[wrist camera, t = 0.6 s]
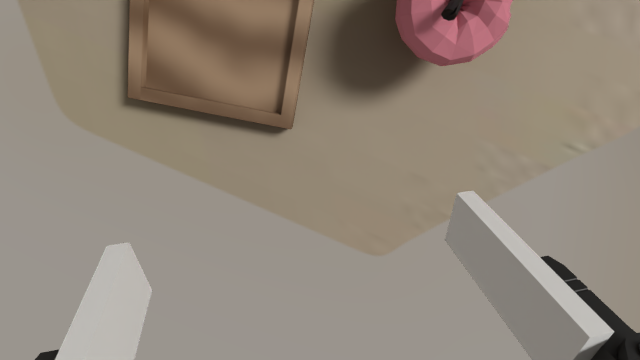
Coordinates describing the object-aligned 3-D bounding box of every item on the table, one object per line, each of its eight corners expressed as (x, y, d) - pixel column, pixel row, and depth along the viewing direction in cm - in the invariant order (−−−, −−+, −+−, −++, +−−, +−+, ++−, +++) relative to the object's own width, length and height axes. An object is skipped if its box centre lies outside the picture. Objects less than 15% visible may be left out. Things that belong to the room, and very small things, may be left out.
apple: (461, 72, 33) (518, 71, 24) (376, 62, 33) (398, 56, 24) (486, -37, 31) (562, -88, 21) (393, -50, 30) (426, -107, 21)
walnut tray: (144, -87, 29) (132, -99, 28) (322, -47, 30) (322, -55, 28) (138, 96, 34) (127, 97, 32) (292, 126, 35) (291, 129, 33)
